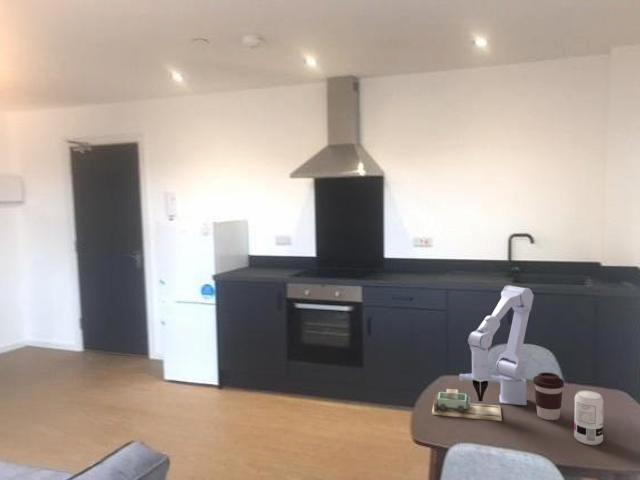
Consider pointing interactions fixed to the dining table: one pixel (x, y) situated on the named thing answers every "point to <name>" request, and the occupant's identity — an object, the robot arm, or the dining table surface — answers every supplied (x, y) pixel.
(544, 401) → the coffee cup
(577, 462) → the dining table surface
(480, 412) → the track board
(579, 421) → the supplement can
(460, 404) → the cart
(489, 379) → the robot arm
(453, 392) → the block
